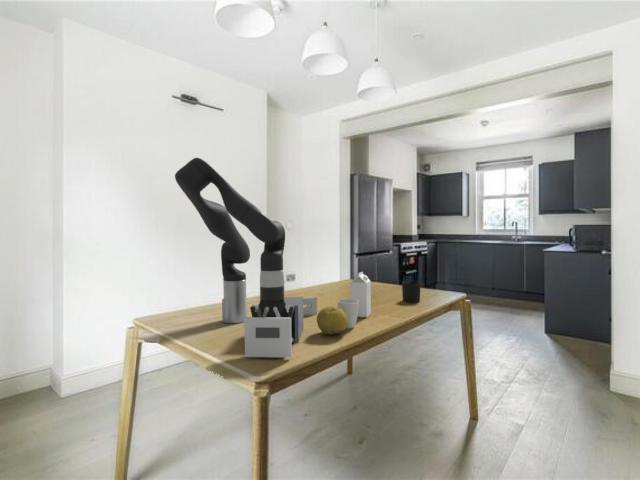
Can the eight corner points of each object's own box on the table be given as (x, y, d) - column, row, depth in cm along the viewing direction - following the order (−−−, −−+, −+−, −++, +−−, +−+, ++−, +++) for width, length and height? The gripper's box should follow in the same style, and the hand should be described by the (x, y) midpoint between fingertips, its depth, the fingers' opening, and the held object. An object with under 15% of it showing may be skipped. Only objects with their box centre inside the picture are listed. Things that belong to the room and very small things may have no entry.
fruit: (324, 340, 120) (324, 311, 120) (311, 331, 131) (311, 305, 131) (353, 336, 125) (353, 308, 125) (338, 328, 136) (338, 302, 135)
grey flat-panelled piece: (244, 357, 103) (244, 318, 103) (257, 340, 119) (256, 307, 118) (291, 357, 102) (290, 318, 102) (297, 341, 118) (297, 307, 117)
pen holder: (417, 303, 179) (417, 283, 179) (399, 301, 184) (399, 282, 184) (422, 300, 187) (422, 281, 187) (405, 298, 192) (405, 280, 192)
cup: (360, 324, 140) (360, 299, 140) (355, 330, 132) (355, 303, 132) (340, 323, 143) (340, 298, 142) (335, 328, 135) (334, 302, 135)
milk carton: (350, 316, 153) (350, 273, 153) (355, 313, 160) (355, 271, 159) (366, 318, 151) (366, 273, 150) (370, 314, 157) (370, 271, 157)
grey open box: (257, 341, 120) (257, 305, 120) (267, 329, 135) (266, 297, 135) (298, 342, 119) (298, 305, 119) (303, 329, 134) (303, 297, 134)
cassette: (316, 313, 160) (315, 296, 160) (317, 314, 158) (317, 297, 158) (290, 316, 155) (290, 299, 155) (292, 317, 154) (291, 299, 153)
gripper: (246, 286, 107) (247, 341, 108) (293, 286, 107) (293, 342, 107) (252, 282, 115) (253, 334, 115) (296, 282, 114) (296, 335, 115)
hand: (272, 338), depth 111 cm, fingers closed on block, 5 cm apart
